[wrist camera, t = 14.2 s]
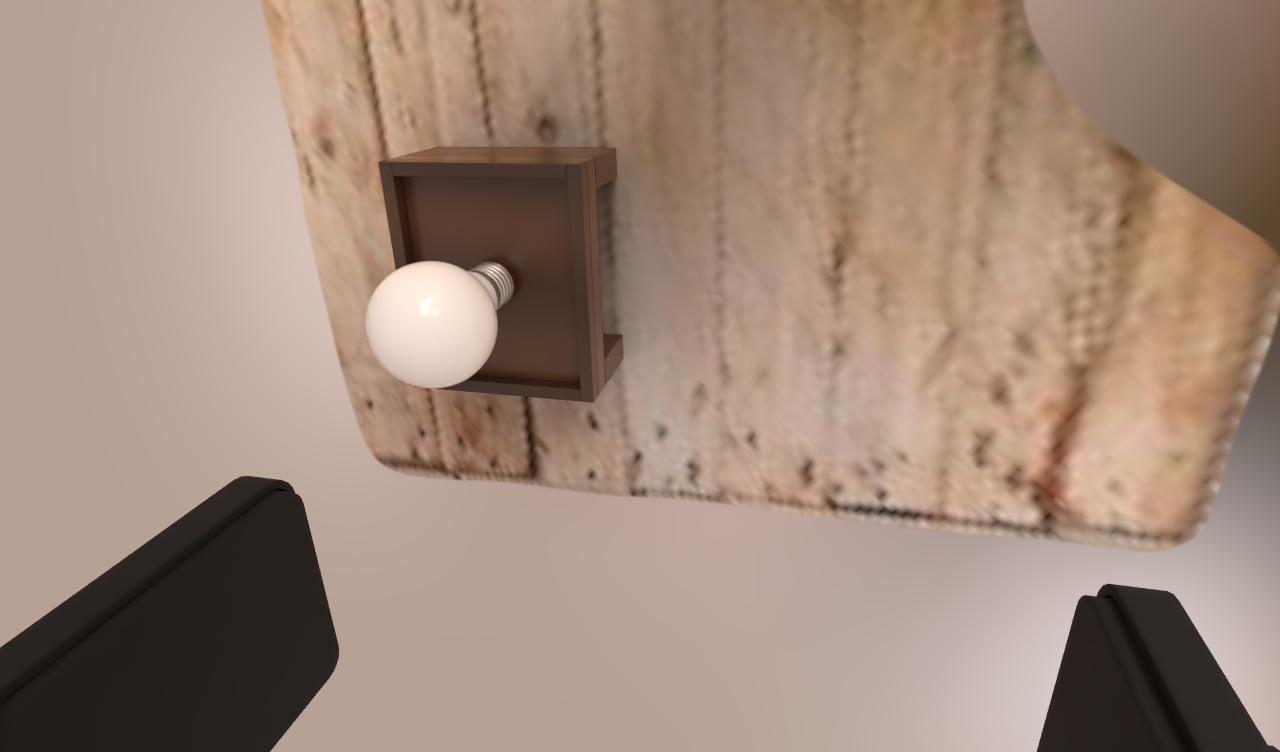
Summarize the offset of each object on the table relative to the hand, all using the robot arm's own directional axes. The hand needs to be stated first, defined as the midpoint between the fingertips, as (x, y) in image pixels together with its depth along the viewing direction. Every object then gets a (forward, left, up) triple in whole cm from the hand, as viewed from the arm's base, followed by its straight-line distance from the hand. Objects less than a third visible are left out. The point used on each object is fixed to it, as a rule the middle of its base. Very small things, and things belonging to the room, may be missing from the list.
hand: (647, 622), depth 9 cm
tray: (+6, -17, -38) cm, 42 cm away
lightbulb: (+6, -17, -32) cm, 37 cm away
